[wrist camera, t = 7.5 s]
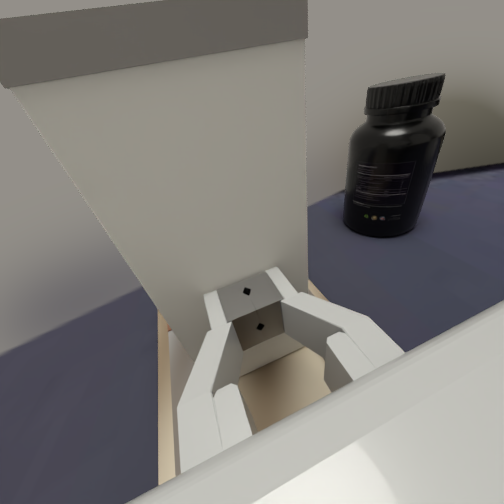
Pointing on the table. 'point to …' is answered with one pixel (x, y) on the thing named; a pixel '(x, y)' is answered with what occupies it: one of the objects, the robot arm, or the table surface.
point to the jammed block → (178, 140)
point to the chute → (250, 385)
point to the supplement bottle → (393, 155)
